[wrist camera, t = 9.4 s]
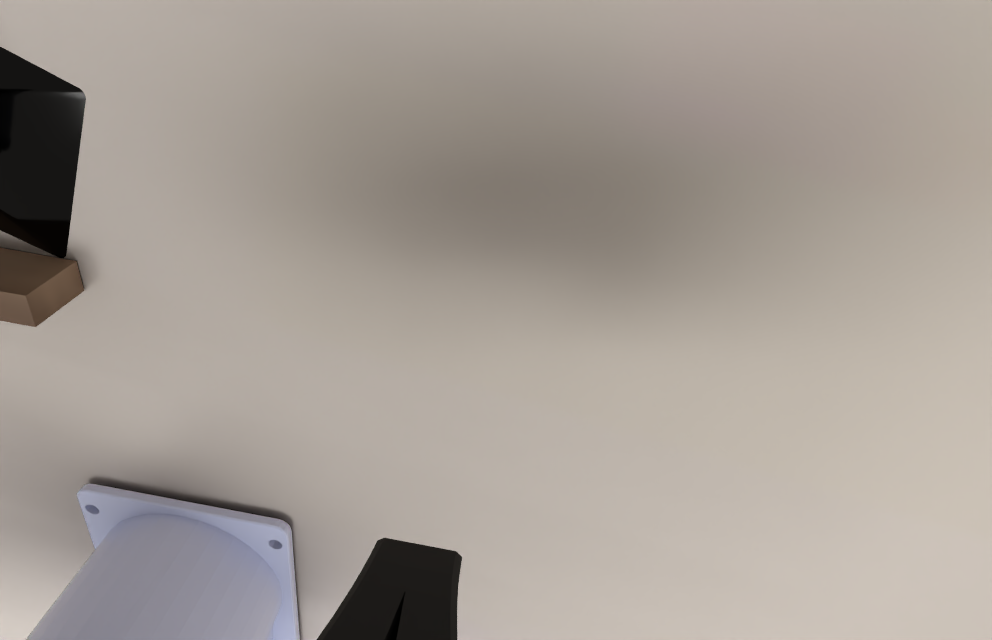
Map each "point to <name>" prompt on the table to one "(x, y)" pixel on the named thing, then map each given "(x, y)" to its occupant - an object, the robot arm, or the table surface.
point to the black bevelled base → (38, 153)
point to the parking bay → (35, 286)
